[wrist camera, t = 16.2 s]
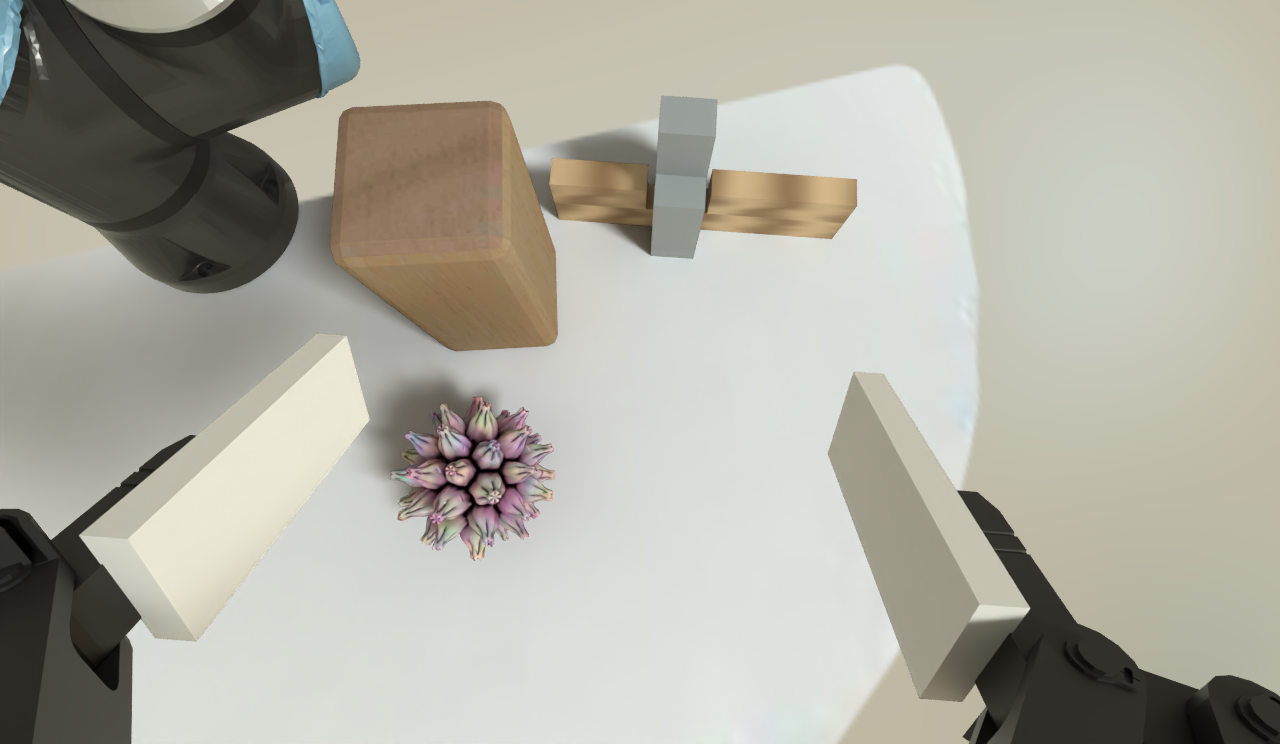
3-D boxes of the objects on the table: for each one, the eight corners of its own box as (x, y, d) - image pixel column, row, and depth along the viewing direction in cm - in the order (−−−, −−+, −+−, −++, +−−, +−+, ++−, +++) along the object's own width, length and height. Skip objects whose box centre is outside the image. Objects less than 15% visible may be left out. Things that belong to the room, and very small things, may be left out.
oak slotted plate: (559, 219, 51) (549, 184, 45) (562, 195, 52) (552, 158, 46) (831, 238, 51) (857, 205, 45) (831, 214, 51) (856, 179, 46)
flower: (593, 455, 46) (578, 443, 35) (510, 578, 44) (465, 609, 32) (486, 383, 48) (437, 348, 36) (401, 498, 46) (319, 501, 34)
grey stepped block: (693, 258, 50) (713, 171, 37) (650, 255, 50) (655, 167, 37) (697, 177, 52) (719, 66, 39) (656, 174, 52) (663, 62, 39)
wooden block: (450, 252, 50) (332, 100, 31) (556, 246, 51) (505, 92, 31) (448, 354, 48) (320, 261, 29) (559, 348, 48) (506, 251, 29)
